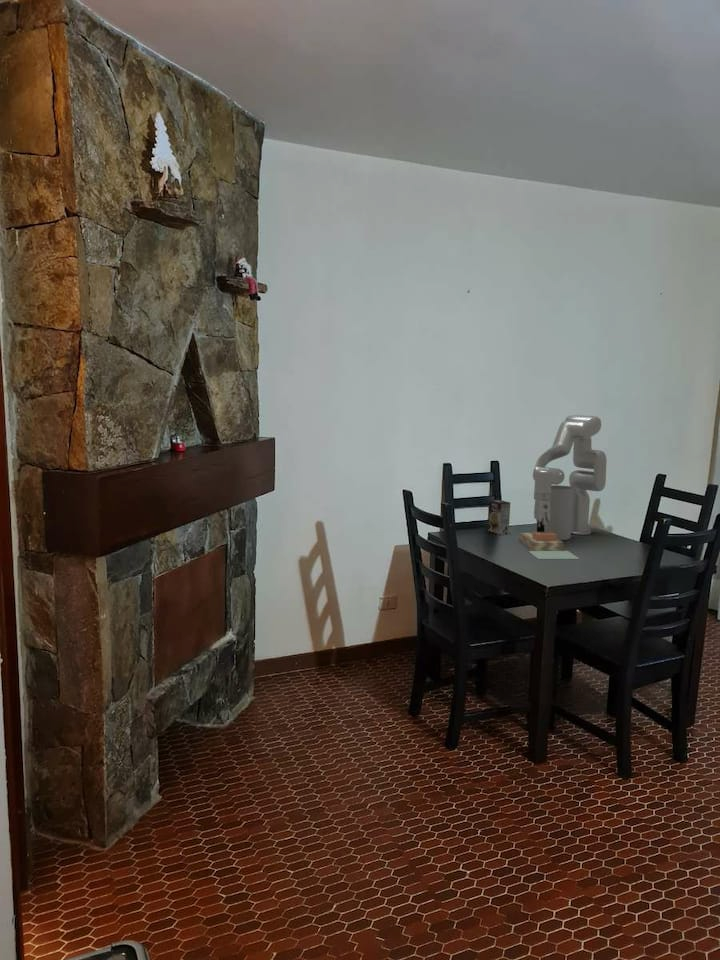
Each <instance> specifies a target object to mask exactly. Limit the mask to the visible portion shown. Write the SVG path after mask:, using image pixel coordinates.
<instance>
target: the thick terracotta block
mask: <svg viewBox="0 0 720 960" xmlns="http://www.w3.org/2000/svg"><path fill="white" fill-rule="evenodd" d="M532 533H533V539H534V540H536V541H556V538H557V534H555V533H553V532H537V531H532Z"/></svg>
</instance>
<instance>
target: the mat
mask: <svg viewBox="0 0 720 960" xmlns="http://www.w3.org/2000/svg"><path fill="white" fill-rule="evenodd" d="M528 552H529V554H531V555H533V557H535V558H536V559H537V560H580V557H578V556H576V555H574V554H573V553H572V552H570V551H569V550H563V551H531V550H528Z"/></svg>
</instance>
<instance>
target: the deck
mask: <svg viewBox="0 0 720 960" xmlns="http://www.w3.org/2000/svg"><path fill="white" fill-rule="evenodd" d="M519 542H520V543H521V544H522V545H523V546H525V547H526V548H527V549H529V551H564V542H563V540H559V539H557V538H556V541H536V540H534V539H533V532H519Z"/></svg>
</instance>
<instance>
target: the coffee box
mask: <svg viewBox="0 0 720 960" xmlns="http://www.w3.org/2000/svg"><path fill="white" fill-rule="evenodd" d="M488 507H489V508H488V509H489V510H488V526H487V528H488V529H487V530H488V532H489V531H491V532H490V533H492V532H494V533H493V534H495V533H497V534H496V535H499V534H502V535H505V534H504V533H510V515H511V502H510V501H505V500H501V499H490V500H489V506H488Z"/></svg>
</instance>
